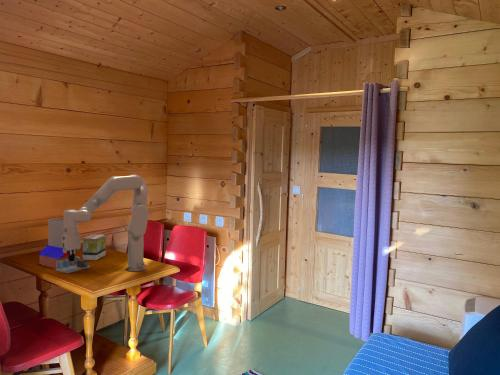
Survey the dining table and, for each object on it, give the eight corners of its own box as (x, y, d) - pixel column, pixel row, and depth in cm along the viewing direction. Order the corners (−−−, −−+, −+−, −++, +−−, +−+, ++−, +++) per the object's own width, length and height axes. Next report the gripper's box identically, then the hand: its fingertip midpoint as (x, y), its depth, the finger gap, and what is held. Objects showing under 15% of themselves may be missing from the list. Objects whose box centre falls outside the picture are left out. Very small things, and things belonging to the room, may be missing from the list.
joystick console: (90, 267, 244) (90, 258, 243) (67, 273, 230) (67, 264, 229) (78, 264, 249) (78, 256, 248) (55, 270, 235) (55, 261, 234)
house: (56, 261, 257) (56, 243, 256) (76, 265, 247) (76, 247, 246) (38, 265, 246) (38, 246, 245) (58, 270, 237) (58, 251, 236)
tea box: (97, 260, 260) (97, 238, 259) (82, 260, 261) (82, 238, 260) (106, 255, 275) (106, 234, 274) (91, 254, 276) (91, 233, 275)
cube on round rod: (89, 266, 241) (89, 260, 241) (84, 268, 237) (84, 261, 237) (78, 264, 246) (78, 258, 246) (72, 265, 242) (72, 259, 242)
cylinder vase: (48, 254, 273) (48, 218, 272) (67, 252, 279) (67, 217, 277) (48, 258, 262) (48, 221, 261) (69, 256, 268) (69, 220, 266)
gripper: (63, 233, 224) (64, 264, 226) (85, 229, 237) (86, 259, 239) (55, 231, 228) (56, 262, 229) (77, 227, 241) (78, 257, 242)
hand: (71, 260), depth 234 cm, fingers closed
